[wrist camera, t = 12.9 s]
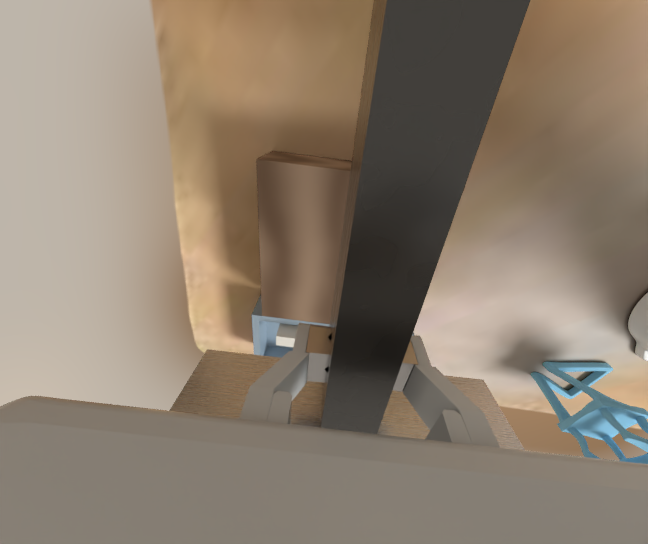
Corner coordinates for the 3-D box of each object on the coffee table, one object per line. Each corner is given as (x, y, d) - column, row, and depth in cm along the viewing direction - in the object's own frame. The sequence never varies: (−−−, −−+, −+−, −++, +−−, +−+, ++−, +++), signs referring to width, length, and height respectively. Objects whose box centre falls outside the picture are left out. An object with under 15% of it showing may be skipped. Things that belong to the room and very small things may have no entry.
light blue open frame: (555, 350, 35) (643, 448, 24) (609, 363, 35) (716, 464, 25) (519, 382, 39) (580, 477, 29) (567, 393, 39) (644, 490, 29)
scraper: (128, -83, 7) (-107, -324, 3) (726, -19, 7) (1155, -190, 3) (210, 368, 15) (172, 438, 12) (472, 397, 15) (512, 476, 12)
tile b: (320, 341, 28) (318, 350, 29) (322, 312, 33) (321, 320, 33) (276, 336, 28) (275, 345, 29) (284, 307, 32) (284, 315, 33)
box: (406, 311, 32) (414, 334, 29) (387, 361, 38) (392, 385, 34) (261, 293, 32) (251, 314, 29) (262, 346, 38) (255, 369, 34)
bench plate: (442, 172, 23) (465, 185, 19) (397, 304, 32) (405, 333, 28) (272, 150, 23) (256, 159, 19) (272, 288, 32) (261, 315, 28)
